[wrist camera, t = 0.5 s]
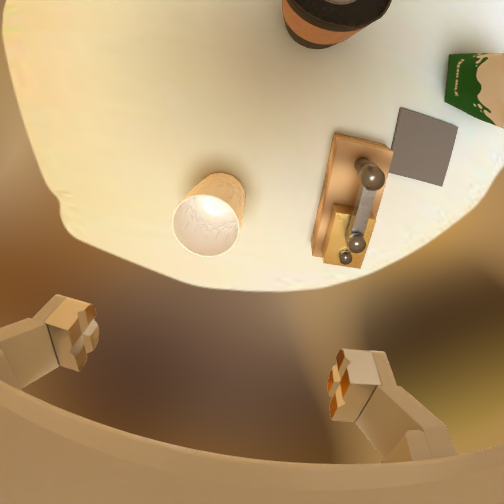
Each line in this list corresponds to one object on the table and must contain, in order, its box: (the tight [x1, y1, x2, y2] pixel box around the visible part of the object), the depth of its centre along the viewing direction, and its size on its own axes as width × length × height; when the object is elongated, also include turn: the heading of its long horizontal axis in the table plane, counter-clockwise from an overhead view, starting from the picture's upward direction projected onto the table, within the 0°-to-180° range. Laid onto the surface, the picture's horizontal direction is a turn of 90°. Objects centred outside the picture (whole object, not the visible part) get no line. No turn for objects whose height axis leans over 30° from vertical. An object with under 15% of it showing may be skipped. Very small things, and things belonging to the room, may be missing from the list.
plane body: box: [311, 133, 393, 257], centre depth 40 cm, size 16×7×7 cm, turn 173°
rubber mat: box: [388, 108, 458, 186], centre depth 38 cm, size 9×9×1 cm
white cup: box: [171, 173, 245, 258], centre depth 40 cm, size 8×8×10 cm
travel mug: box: [282, 0, 392, 49], centre depth 23 cm, size 8×8×20 cm
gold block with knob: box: [321, 203, 376, 269], centre depth 39 cm, size 7×5×4 cm
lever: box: [345, 161, 385, 253], centre depth 34 cm, size 10×3×4 cm, turn 173°
